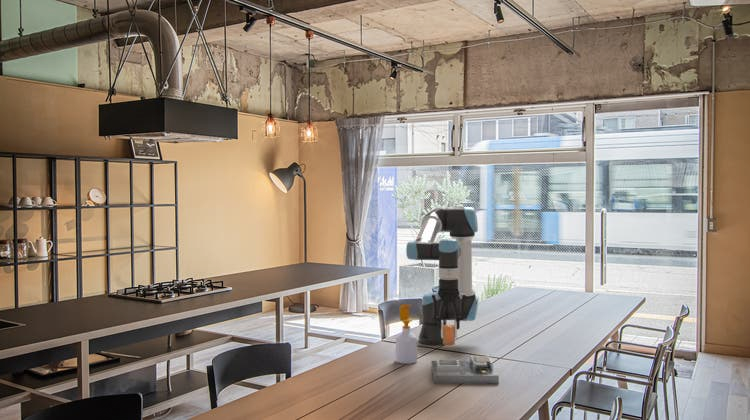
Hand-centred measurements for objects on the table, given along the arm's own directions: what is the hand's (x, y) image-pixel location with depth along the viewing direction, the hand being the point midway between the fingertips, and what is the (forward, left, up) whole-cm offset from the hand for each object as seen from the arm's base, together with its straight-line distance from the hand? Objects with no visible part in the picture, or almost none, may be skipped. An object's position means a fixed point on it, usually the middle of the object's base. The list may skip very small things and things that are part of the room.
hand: (448, 337), depth 242 cm
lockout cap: (0, 0, -2) cm, 3 cm away
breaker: (0, +13, -9) cm, 15 cm away
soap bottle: (-19, -16, -15) cm, 29 cm away
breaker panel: (+1, +6, -15) cm, 16 cm away
